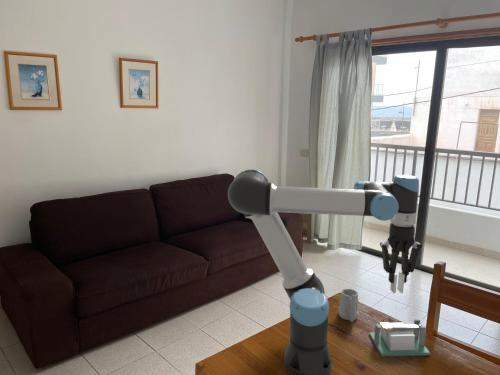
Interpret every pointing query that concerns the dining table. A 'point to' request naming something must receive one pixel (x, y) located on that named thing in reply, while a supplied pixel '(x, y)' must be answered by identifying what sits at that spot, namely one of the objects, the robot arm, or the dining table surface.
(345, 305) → the white cup
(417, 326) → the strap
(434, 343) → the dining table surface
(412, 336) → the heatsink board
